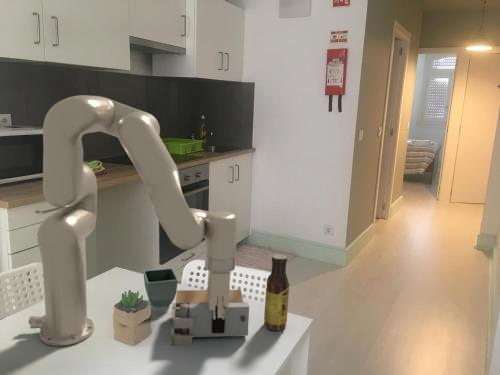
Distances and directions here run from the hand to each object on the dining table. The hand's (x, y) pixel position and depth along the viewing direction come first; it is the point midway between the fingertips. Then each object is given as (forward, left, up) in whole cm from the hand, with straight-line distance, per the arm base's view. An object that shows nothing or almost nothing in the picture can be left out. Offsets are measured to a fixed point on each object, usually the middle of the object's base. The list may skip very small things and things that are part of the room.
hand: (217, 328), depth 107 cm
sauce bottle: (+16, +5, -3) cm, 17 cm away
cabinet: (-2, +9, -2) cm, 9 cm away
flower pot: (-16, +19, -3) cm, 25 cm away
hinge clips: (-9, +1, -2) cm, 9 cm away
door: (-1, 0, -1) cm, 2 cm away
